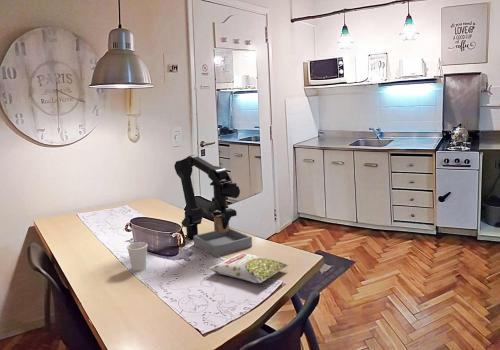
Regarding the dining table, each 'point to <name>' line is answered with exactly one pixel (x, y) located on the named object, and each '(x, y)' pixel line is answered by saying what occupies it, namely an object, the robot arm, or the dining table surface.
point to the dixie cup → (138, 255)
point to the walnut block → (219, 225)
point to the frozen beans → (249, 267)
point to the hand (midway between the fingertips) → (221, 227)
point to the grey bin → (222, 242)
